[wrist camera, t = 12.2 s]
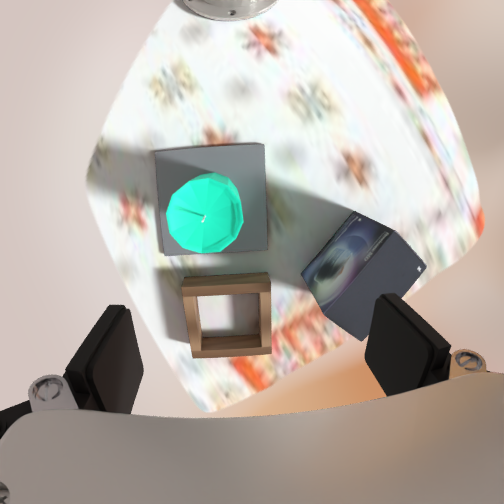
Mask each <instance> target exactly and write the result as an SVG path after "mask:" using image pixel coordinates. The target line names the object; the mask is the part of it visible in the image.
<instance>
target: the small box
mask: <svg viewBox="0 0 504 504" xmlns="http://www.w3.org/2000/svg"><path fill="white" fill-rule="evenodd" d="M426 268H427V265H426V264H425V263H424V262H423V260H422V259H421V258H420V257H419V256H418V255H417V254H416V252H415V251H414V250H413V249H412V248H411V247H410V246H409V244H408V243H407V242H406V241H405V240H404V239H403V238H402V237H401V236H400V235H399V233H398V232H397V231H395V230H393V229H391V228H389V227H387V226H385V225H383V224H381V223H379V222H376V221H375V220H372V219H370V218H368V217H366V216H364V215H362V214H360V213H358V212H356V211H354V212H353V213H352V214H351V215H350V217H349V218H348V219H347V220H346V221H345V223H344V224H343V225H342V226H341V227H340V229H339V230H338V231H337V232H336V233H335V235H334V236H333V237H332V238H331V239H330V241H329V242H328V243H327V244H326V245H325V247H324V248H323V249H322V250H321V251H320V252H319V254H318V255H317V256H316V257H315V258H314V259H313V261H312V262H311V263H310V264H309V265H308V266H307V267H306V269H305V270H304V271H303V272H302V273H301V275H302V277H303V278H304V280H305V282H306V284H307V285H308V287H309V289H310V291H311V292H312V294H313V296H314V298H315V299H316V301H317V303H318V305H319V307H320V308H321V310H322V312H323V314H324V315H325V316H326V317H327V318H329V319H330V320H331V321H333V322H334V323H335V324H337V325H338V326H339V327H341V328H342V329H344V330H345V331H346V332H348V333H349V334H351V335H352V336H354V337H355V338H357V339H358V340H360V341H363V340H364V339H365V338H366V337H367V336H368V335H369V332H370V327H371V322H372V317H373V312H374V306H375V301H376V299H377V298H379V296H380V295H381V294H387V293H396V294H397V295H398V296H399V297H400V298H402V297H403V296H404V295H405V294H406V292H407V291H408V290H409V289H410V288H411V286H412V285H413V284H414V283H415V281H416V280H417V279H418V278H419V277H420V275H421V274H422V273H423V271H424V270H425V269H426Z"/></svg>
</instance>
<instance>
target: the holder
mask: <svg viewBox="0 0 504 504" xmlns="http://www.w3.org/2000/svg"><path fill="white" fill-rule="evenodd" d="M181 289H182V296H183V303H184V310H185V316H186V322H187V328H188V334H189V340H190V346H191V352H192V357H193V358H218V357H237V356H252V355H264V354H272V349H271V281H270V278H269V275H268V272H265V273H249V274H233V275H216V276H198V277H185V278H184V281H183V284H182V287H181ZM247 293H258V302H259V333H260V334H257V335H243V336H226V337H205V338H202V331H201V324H200V317H199V309H198V302H197V296H213V295H231V294H247Z"/></svg>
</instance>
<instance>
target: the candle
mask: <svg viewBox="0 0 504 504" xmlns="http://www.w3.org/2000/svg"><path fill="white" fill-rule="evenodd" d="M166 217H167V222H168V228H169V233H170V234H171V235H172V237H173V238H174V239H175V240H176V241H177V242H178V243H179V245H180V246H181V247H182V248H185V249H188V250H191V251H195V252H198V253H212V252H221V251H222V250H223V249H224V248H226V247H227V246H228V245H229V244H230V243H232V242H233V241H234V240H235V239H236V238H237V235H238V233H239V231H240V229H241V226H242V224H243V222H244V221H243V214H242V207H241V201H240V197H239V194H238V190H237V188H236V187H235V185H234V184H233V183H232V182H231V180H230V179H229V178H228V177H226V176H223V175H220V174H218V173H208V174H202V175H199V176H198V177H196V178H194V179H192V180H190V181H188V182H187V183H186V184H185V185H183V186H182V187H181V188H180V189H179V190H177V191H176V192H175V193H174V194H173V195H172V197H171V200H170V203H169V206H168V209H167V212H166Z"/></svg>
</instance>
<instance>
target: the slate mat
mask: <svg viewBox="0 0 504 504" xmlns="http://www.w3.org/2000/svg"><path fill="white" fill-rule="evenodd" d="M155 160H156V176H157V189H158V200H159V211H160V221H161V230H162V239H163V247H164V255H165V256H175V255H192V254H208V253H198V252H195V251H191V250H188V249H185V248H182V247H181V246H180V245H179V243H178V242H177V241H176V240H175V239H174V238H173V237H172V235H171V234H170V233H169V228H168V222H167V217H166V212H167V209H168V206H169V203H170V200H171V197H172V195H173V194H174V193H175V192H176V191H177V190H179V189H180V188H181V187H182V186H183V185H185V184H186V183H187V182H188V181H190V180H192V179H194V178H196V177H198V176H199V175H202V174H208V173H218V174H220V175H223V176H226V177H228V178H229V179H230V180H231V182H232V183H233V184H234V185H235V187H236V188H237V190H238V194H239V197H240V201H241V207H242V214H243V221H244V222H243V224H242V226H241V229H240V231H239V233H238V235H237V238H236V239H235V240H234V241H233V242H232V243H230V244H229V245H228V246H227V247H226V248H224V249H223V250H222V251H221V252H212V253H225V252H242V251H259V250H268V248H267V210H266V178H265V149H264V144H259V145H233V146H216V147H202V148H190V149H179V150H169V151H160V152H155Z"/></svg>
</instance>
